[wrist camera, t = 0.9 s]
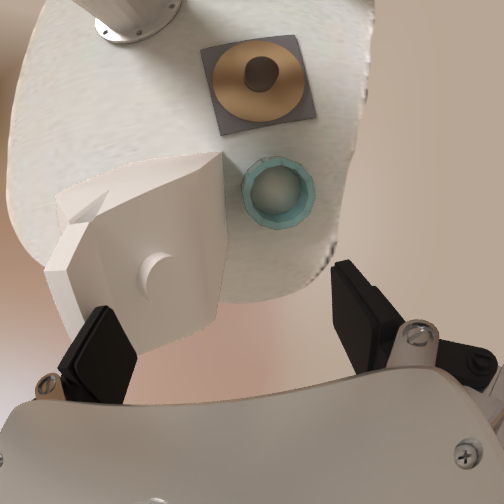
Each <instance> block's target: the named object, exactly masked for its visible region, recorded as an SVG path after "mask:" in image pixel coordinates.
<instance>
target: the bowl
mask: <svg viewBox="0 0 504 504" xmlns="http://www.w3.org/2000/svg"><path fill="white" fill-rule="evenodd" d="M242 194H243V199H244V203H245V207H246V211H247V213H248V214H249V215H250V216H251V217H252V218H253V219H254V220H255V221H256V222H257V223H258V224H260V225H261V226H265V227H268V228H271V229H275V230H277V229H278V230H281V229H285V228H290V227H294V226H295V225H297V224H299V223H300V222H301V221H302V220H303V219H304V218H305V217H307V216H308V215H309V214H310V211H311V208H312V206H313V203H314V200H315V198H316V197H314V196H316V195H315V189H314V183H313V179H312V177H311V176H310V175H309V173H308V172H307V171H306V170H305V169H304V167H303V166H302V165H301V164H299V163H297V162H294V161H291V160H288V159H285V158H282V157H278V156H274V157H269V158H264V159H260V160H258V161H257V162H256V163H255V164H254V165H253V166H251V167H250V168H249V169H248V170H247V171H246V174H245V177H244V180H243V184H242ZM308 213H309V214H308ZM294 224H295V225H294Z"/></svg>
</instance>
